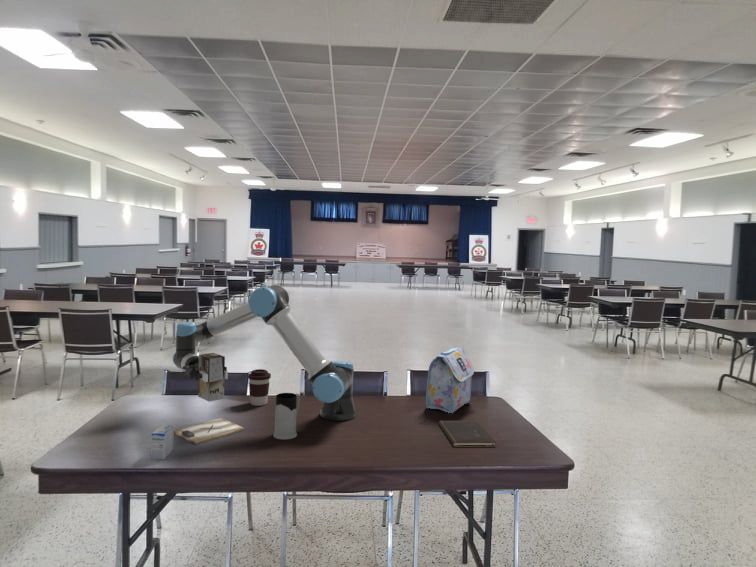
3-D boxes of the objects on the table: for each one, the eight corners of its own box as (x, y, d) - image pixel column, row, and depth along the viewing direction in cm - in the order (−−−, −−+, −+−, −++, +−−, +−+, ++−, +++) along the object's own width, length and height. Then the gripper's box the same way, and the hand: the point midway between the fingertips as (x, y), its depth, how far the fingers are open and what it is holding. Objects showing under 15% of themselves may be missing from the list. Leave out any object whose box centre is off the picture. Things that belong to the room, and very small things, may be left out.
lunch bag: (457, 416, 207) (460, 356, 205) (422, 408, 215) (425, 351, 214) (475, 404, 226) (478, 349, 224) (443, 397, 235) (445, 344, 233)
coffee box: (224, 398, 177) (225, 356, 176) (208, 402, 172) (209, 358, 171) (212, 393, 183) (213, 352, 182) (196, 396, 178) (197, 354, 178)
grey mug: (268, 437, 174) (269, 396, 174) (288, 425, 188) (289, 387, 187) (289, 441, 172) (290, 400, 171) (308, 428, 185) (309, 390, 184)
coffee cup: (274, 403, 215) (275, 370, 214) (258, 408, 207) (259, 374, 206) (259, 399, 220) (260, 367, 220) (242, 404, 212) (243, 371, 211)
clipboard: (244, 430, 181) (244, 425, 180) (196, 444, 165) (196, 439, 165) (220, 419, 191) (220, 415, 190) (172, 432, 175) (172, 428, 175)
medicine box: (159, 450, 159) (160, 424, 159) (173, 450, 160) (174, 424, 159) (150, 460, 151) (151, 433, 151) (165, 460, 152) (165, 433, 151)
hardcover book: (476, 426, 197) (476, 420, 197) (495, 448, 174) (495, 441, 174) (438, 426, 195) (438, 420, 195) (452, 448, 172) (453, 441, 172)
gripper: (217, 371, 197) (242, 383, 180) (168, 377, 184) (189, 390, 167) (218, 353, 197) (242, 363, 180) (168, 358, 184) (190, 369, 167)
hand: (217, 376), depth 173 cm, fingers closed on coffee box, 7 cm apart
